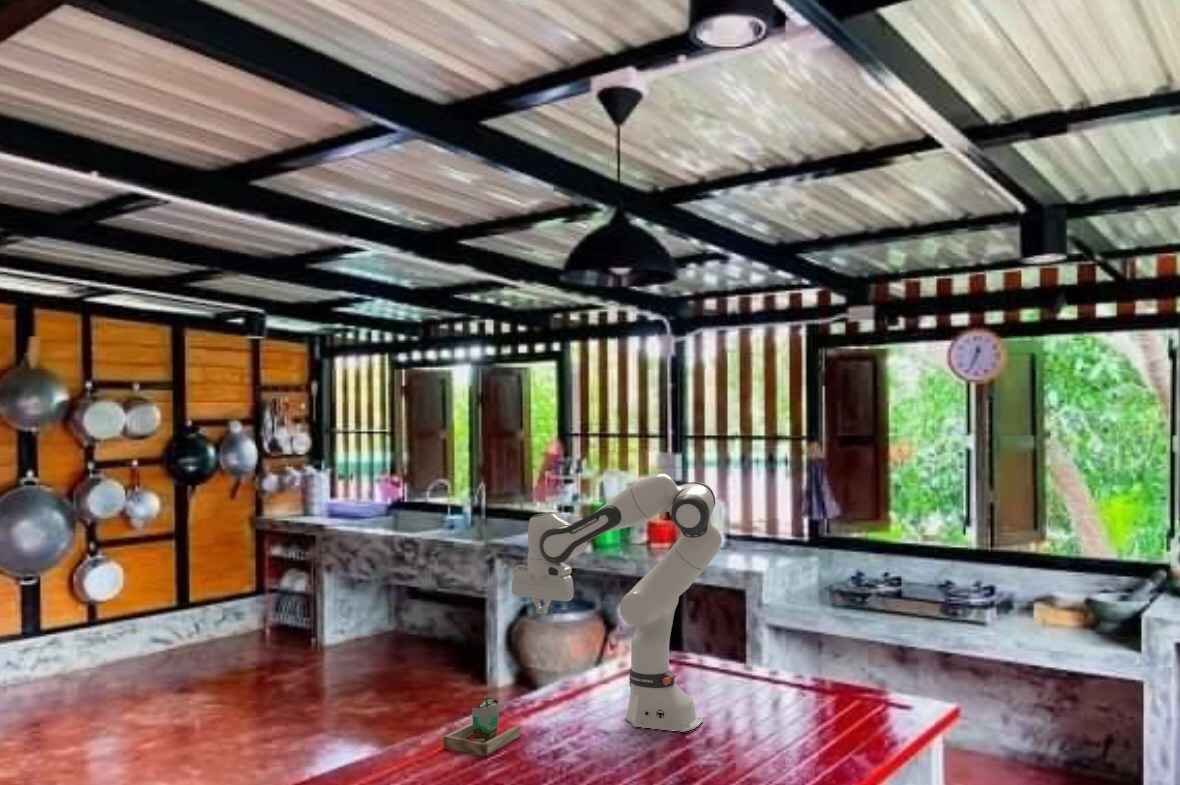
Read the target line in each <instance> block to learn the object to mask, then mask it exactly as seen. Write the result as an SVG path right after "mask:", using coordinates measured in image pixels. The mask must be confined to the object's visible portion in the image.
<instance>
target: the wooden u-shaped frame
mask: <svg viewBox="0 0 1180 785" xmlns="http://www.w3.org/2000/svg"><path fill="white" fill-rule="evenodd" d="M520 730H521V729H520V726H517V725H515V726H513V727H511V728H509V729H508V730H506V731H504V732H502V733H499V734H497V736H496V737H494V738H492V739H490V740H489V741H487V742H485V743H481V742H477V741H473V739H472V740H471V739H469V738H470V737H469V736H471V735H472V734H473V721H472V722H470V723H468V724H466V725H464V726H462V727H460V728H458V729H456V730H454V731H451V732H449V733H448V734H446V735H444V736H443V748H444V747H446V748H445V749H447V748H450V749H449V750H453V751H457V752H461V753H465V754H469V753H471V754H470V755H474V754H476V755H475V756H478V755H481V756H480V757H483V756H486V755H487V756H489V755H491V754H492V753H491V752H493V751H495V750H496V749H498V748H500V747H502V746H504V745H505V744H507V743H509V742H511V741H512V740H514V739H516V738H518V737H521V736H520V734H521V732H520ZM468 737H469V738H468ZM471 737H472V736H471ZM466 738H467V739H466ZM518 739H519V738H518ZM516 740H517V739H516ZM511 743H512V742H511ZM509 744H510V743H509ZM507 745H508V744H507ZM504 747H505V746H504ZM502 748H503V747H502ZM500 749H501V748H500ZM498 750H499V749H498ZM495 752H496V751H495ZM490 753H491V754H490ZM493 753H494V752H493ZM488 754H489V755H488ZM487 756H486V757H487Z"/></svg>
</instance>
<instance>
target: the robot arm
mask: <svg viewBox="0 0 1180 785" xmlns="http://www.w3.org/2000/svg"><path fill="white" fill-rule="evenodd" d="M715 505H716V498H715V494H714V491H713V490H712V488H711V487H710V486H709V485H707V484H705V483H703V482H698V481H693V482H692V481H691V482H689V481H686V482H685V481H681V482H679V483H678V484H677V483H676V482H675V481H674V479H673V478H672V477H670V475H667V473H666V474H665V473H657V474H655V475H652V476H648V477H646V478H644V479H642V480H640V481H637V482H635V483H633V484H631V485H630V486H628V487H626V488H625V489H624V490H622V491H621V492H619V493H617V495H615V496H614V497H613V498H611V499H610V500H609V501H608V502H607V503H605V504H604V505H603V506H601V507H600V508H599V509H598V510H596V511H594V512H593V513H591V514H589V515H587V516H586V517H584V518H582V519H580V520H578V521H577V522H574V523H570V522H567V521H565V520H563V519H561V518H560V517H558V516H557V515H556V514H555V513H553V512H544V513H537V514H534V515H533V516H531V517H530V519H529V523H528V528H527V545H528V553H527V565H524V564H523V565H522V564H517V565H515V566H514V568H513V569H512V581H511V582H512V583H511V593H512V595H513V596H514V597H515V596H516V597H524V598H525V597H526V598H532V602H533V604H534V606H535V608H536V609H535V610H536V614H541V615H542V614H543V615H547V614H548V611H549V609H548V608H549V606H550V604H551V602H552V601H559V602H569V601H572V599H573V598H574V593H575V591H574V590H575V589H574V580H573V577H572V576H571V574H572V571H573V570H572V569H573V568H572V567H571V566H570V565H567V564H565V563H564V562H566V561H567V560H570V559H573V558H575V557H577V556H580V555H582V554H583V553H584V552H585V551H586V549H587V547H588V542H589V541H591V540H593V539H595V538H597V537H598V536H601V535H602V534H605V533H609V532H611V531H617V530H622V529H626V528H631V527H634V526H638V525H640V524H642V523H645V522H647V521H649V520H651V519H653V518H654V517H656V516H658V515H660V514H663V513H666V512H667V513H670V514H671V519H672V521H673V523H674V524H675V526H676V527H677V528H678V529H679V531H680V532H681V533H682V535H681V536H680V537H679V539H677V541H676V542H675V543H674V544H673V545H672V546H671V548H670V549H669V550H667V551H668V552H666V554H665V555H664V556H663V557H662V558H661V560H660V561H659V562H657V564H656V565H655V566H654V567H653V568H652V569H651V570H649V572H647V573H646V574H645V575H644V576H643V577H642V578H641V579H640V580H639V581H638V582H637V583H636V584H635V585H634V586H633V587H632V589H631V590H630V591H628V592H627V593H626V594H625V595H624V596H623V598H622V599H621V601H620V605H619V612H620V615H621V617H622V619H623V621H624V622H625V623H627V624H628V625H629V626H633V627H636V628H635V632H634V635H633V637H632V639H631V642H630V669H629V678H628V679H629V688H630V693H629V699H628V706H627V710H626V714H625V720H626V721H627V722H629V723H630V724H631V725H632V727H633V726H634V727H633V728H636V727H642V728H641V729H645V728H651V729H650V730H654V729H661V730H660V731H662V730H677V731H688V730H692V729H695V728H696V727H698V726H699V725H700V724H701V723H702V722H703V723H704V718H703V716H702V715H700V714H696V710H695V709H696V708H695V704H694V703H695V702H694V701H693V698H691V696H689V695H688V694H687V693H686V692H685V691H684V690H682V689H681V688H680V686H679V685H677V684H676V683H675V680H676V678H677V677H678V676H677V673H678V672H674V673H673V672H672V671H671V669H670V667H669V666H670V639H671V633H672V627H673V622H674V616H675V611H676V609H677V606H678V604H679V600H680V599H679V598H680V596H681V595H682V594H683V593H684V592H686V591H687V590H688V589H689V588H690V586H691V585H692V584H693V583H694V582H695V581H696V580H697V579H698V577H699V576H700V575H701V574H702V573H703V572H704V571H705V569H706V568H707V567H708V565H710V563H711V562H712V561H713V559H714V557H715V556H716V555H717V552H718V551H719V549H720V547H721V545H722V536H721V533H720V531H719V530H718V529H717V528H716V527H715V526H714V525H713V524H712V523H711V517H712V515H713V511H714V509H715ZM542 600H543V601H542ZM540 601H542V602H543V603H544V604H543V606H542V604H541V602H540ZM703 723H702V724H703ZM702 724H701V725H702ZM701 725H700V726H701ZM700 726H699V727H700ZM699 727H698V728H699ZM696 729H697V728H696ZM696 729H695V730H696ZM692 731H693V730H692Z"/></svg>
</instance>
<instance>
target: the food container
mask: <svg viewBox="0 0 1180 785" xmlns="http://www.w3.org/2000/svg"><path fill="white" fill-rule="evenodd" d="M483 698H484V699H483V700H482V702H480V703H478V705H477V706H476V707H473V708H472V711H471V712H472V713H471V717H472V722H473V736H472V741H477V742H481V743H485V742H487V741H489V740H490V739H492V738H494V737H496V736H498V725H499V712H500V711H501V710H502V706H501V705H502V704H501V702H500V700H499V699H498V698H497V697H494V696H491V695H484V697H483Z"/></svg>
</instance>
